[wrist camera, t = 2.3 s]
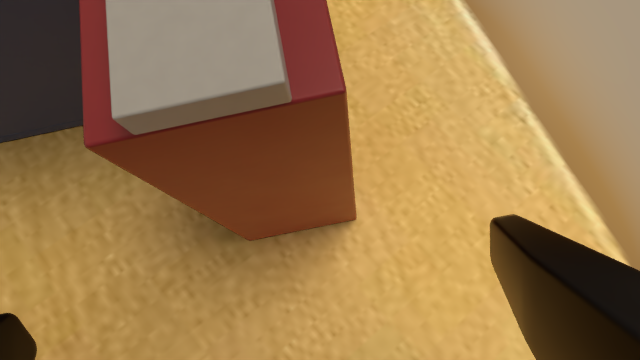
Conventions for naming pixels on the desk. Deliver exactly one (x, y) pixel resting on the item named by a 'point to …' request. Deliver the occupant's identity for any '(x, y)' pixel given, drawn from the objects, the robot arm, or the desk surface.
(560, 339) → the robot arm
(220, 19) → the red post with hook
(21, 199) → the desk surface
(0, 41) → the storage box
